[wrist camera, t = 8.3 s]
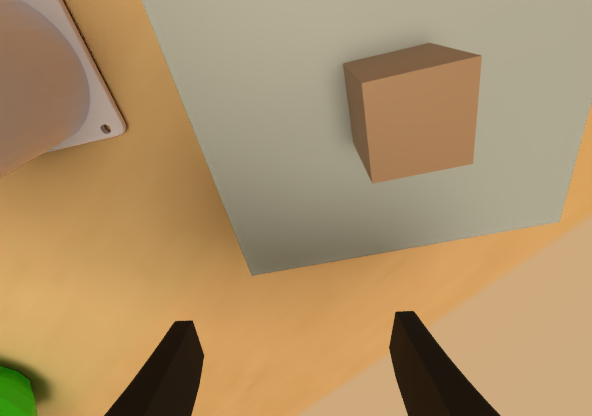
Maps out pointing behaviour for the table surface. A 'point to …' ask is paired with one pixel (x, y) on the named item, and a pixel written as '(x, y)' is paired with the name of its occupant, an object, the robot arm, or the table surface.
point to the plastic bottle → (15, 394)
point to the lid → (380, 117)
